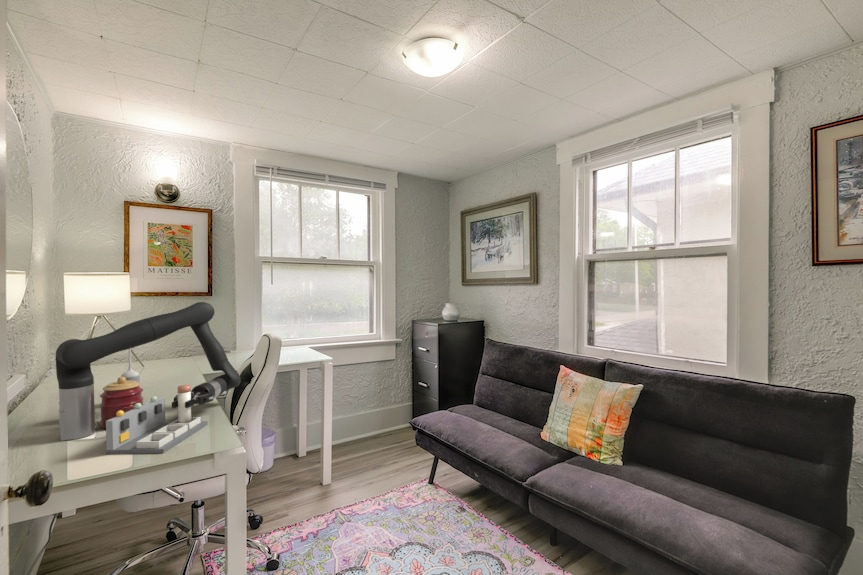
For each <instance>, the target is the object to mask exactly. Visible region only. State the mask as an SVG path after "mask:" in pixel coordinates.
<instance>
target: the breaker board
mask: <svg viewBox="0 0 863 575" xmlns="http://www.w3.org/2000/svg"><path fill="white" fill-rule="evenodd" d="M134 407H135V409H132V410H130V411H128V412H126V413H124V412H123V411H122V410H120V411H118V412H117V413H116V417H114V418H112V419H109V420H107V421H106V429H105V435H106V439H105V440H106V449H105V451H104V454H105V455H121V454H122V455H123V454H124V455H127V454H131V455H132V454H164V453H166V452H168V451H170V450H171V449H172V448H174V447H176V446H177V445H179V444H180V443H182V442H183V441H185V440H186V439H188V438H189V437H191V436H192V435H194V434H196V433H197V432H199V431H200V430H201V429H203V428H205V427H206V426H208V423H209V422H208V421H205V420H203V421H201V418H202V417H201V416H191V422H190V423H178V418H177V419H176V420H174V421H166V419H167V418H166V398H165V397H157V396H154V395H153V396H152V397H150V401H149V402H147V403H145V404H144V403H143V405H141V403H136V404H135V406H134Z"/></svg>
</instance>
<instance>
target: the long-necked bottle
mask: <svg viewBox="0 0 863 575" xmlns="http://www.w3.org/2000/svg"><path fill="white" fill-rule="evenodd" d="M131 350H132V348H130V349H128V351H126V353H125V355H126V358H125V359H127V357H128V363H127V360H125V361H126V362H125V363H126V366H128V368H127V369H126V371H124V372H123V373H122V374H121V376H120V377H125V378H126V380H134V381H136V382H138V383H140V382H141V381H140V373H139V372H138V371H136V370H135V369H133V368H132V351H131ZM127 352H128V356H127ZM127 364H128V365H127ZM139 387H140V388H141V383H140V385H139Z"/></svg>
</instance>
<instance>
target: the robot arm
mask: <svg viewBox="0 0 863 575" xmlns="http://www.w3.org/2000/svg"><path fill="white" fill-rule="evenodd" d="M214 315H215V308H214V306H213V305H212V304H210V303H208V302H206V301H198V302H196V303H193V304H191V305H190V306H186V307H184V308H182V309H179V310H176V311H172V312H167V313H162V314H157V315H154V316H150V317H145V318H142V319H139V320H135V321H133V322H130V323H126V325H124V326H121V327H119V328H117V329H115V330H114V331H111V332H108V333H106V334H103V335H100V336H95V337H90V338H87V339H79V338H73V339H67V340H65V341H63V342H61V343H60V344H59V345H58V346H57V348H56V352H55V370H56V379H57V383H58V406H59V408H58V422H59V439H60V441H61V442H62V441H69V440H70V441H71V440H77V439H82V438H85V436H86V437H89V436H91V435H93V434H95V433H96V419H95V418H96V416H95V414H96V413H95V410H96V409H95V380H94V378H95V377H94V374H93V372H92V368H91V364H92V363H93V362H94V363H95V362H96V361H99V360H101V359H103V358H105V357H107V356H110V355H112V354H113V355H114V354H116V353H119V352H123V351H127V350H129V349H130V348H131V349H132V348H136V347H140V346H143V345H146V344H149V343H151V342H154V341H155V342H156V341H157V340H160V339H162V338H164V337H166V336H169V335H171V334H174V333H175V332H178V331H179V330H182V329H184V328H188V327H190V329H192V331H193V333H194V335H195V336H196V338H197V339H198V341H199V344H200V346H201V348H202V349H203V351H204V352H203V353H205V357H206V360H207V361H208V364H209V366H210V367H211V368H210V369H211V370H212V371H214V372H218V371H219V372H223V374H221V375H219V376H216V377H214V378H212V379H210V380H207V381H204V382H202V383H200V384H198V385H195V386H194V387H193V388H191V399H190V400H188V401H186V402H185V408H189V407H191V408H192V407H193V406H197V405H199V406H202V405H205V404H208V403H210V402H213V401H214V399H216V398H217V397H218V396H221V395H222V394H223V393H224V392H226V391H229V390H231V389H234V388H237V387H239V386H240V384H241V376H240V373H239V372H238V371H237V370H236V369H235V368H234V366H233V365H232V363H231V362H230V361H229V359H228V357H227V354H226V352H225V350H224V348H223V346H222V345H221V343H220V341H219V340H218V339H217V337H216V336H215V335H214V333H213V331H212V329H211V327H210V325H209V322H210V321H211V320H212V319H213V318H214ZM171 408H172V409H176V408H178V394H176V395H175V396H174V397H173V401H172V402H171Z"/></svg>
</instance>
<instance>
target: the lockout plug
mask: <svg viewBox="0 0 863 575" xmlns="http://www.w3.org/2000/svg"><path fill="white" fill-rule="evenodd" d="M191 391H192V388H191V384H182V385H179V386H177V395H178V407H177V419H178V423H190V422H191V417H192V406H191V407H189V408H185V402H186V401H188V400H190V399H191Z"/></svg>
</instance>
